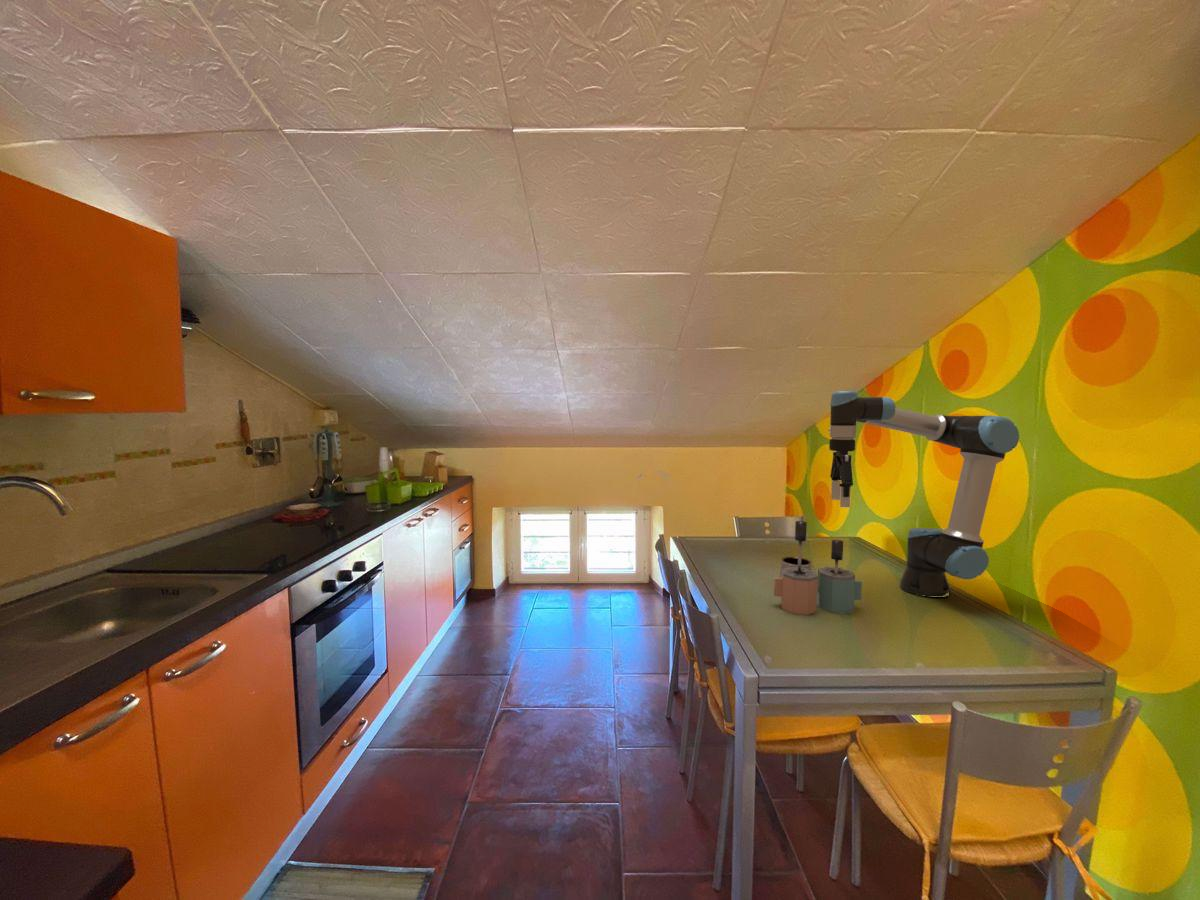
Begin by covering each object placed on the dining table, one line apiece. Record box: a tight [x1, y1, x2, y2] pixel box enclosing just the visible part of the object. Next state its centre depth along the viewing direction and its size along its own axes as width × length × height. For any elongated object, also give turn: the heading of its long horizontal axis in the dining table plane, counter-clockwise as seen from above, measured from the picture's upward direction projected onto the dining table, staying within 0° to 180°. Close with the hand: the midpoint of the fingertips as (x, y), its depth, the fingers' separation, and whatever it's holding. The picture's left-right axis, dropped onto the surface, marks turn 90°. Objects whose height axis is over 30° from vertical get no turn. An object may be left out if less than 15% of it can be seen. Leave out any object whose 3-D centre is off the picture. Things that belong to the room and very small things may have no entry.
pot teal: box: [816, 566, 863, 615], centre depth 158 cm, size 13×10×12 cm
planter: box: [779, 556, 813, 578], centre depth 179 cm, size 11×11×10 cm
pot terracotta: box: [773, 567, 818, 616], centre depth 158 cm, size 13×10×12 cm
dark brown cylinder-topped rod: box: [830, 539, 844, 574], centre depth 158 cm, size 8×8×20 cm
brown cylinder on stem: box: [794, 520, 808, 575], centre depth 157 cm, size 8×8×20 cm
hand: (840, 503), depth 156 cm, fingers open, 13 cm apart
